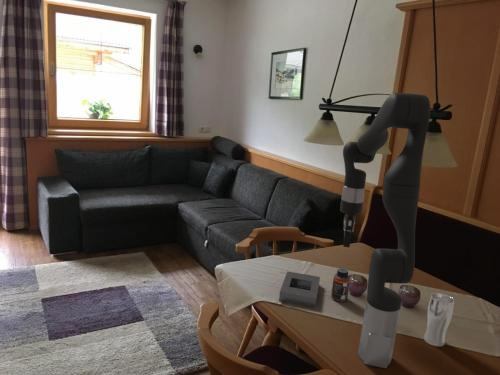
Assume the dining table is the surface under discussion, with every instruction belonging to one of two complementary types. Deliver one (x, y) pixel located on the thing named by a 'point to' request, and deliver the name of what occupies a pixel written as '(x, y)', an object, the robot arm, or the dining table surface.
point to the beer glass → (438, 318)
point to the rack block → (298, 294)
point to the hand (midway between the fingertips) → (346, 242)
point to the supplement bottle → (340, 285)
